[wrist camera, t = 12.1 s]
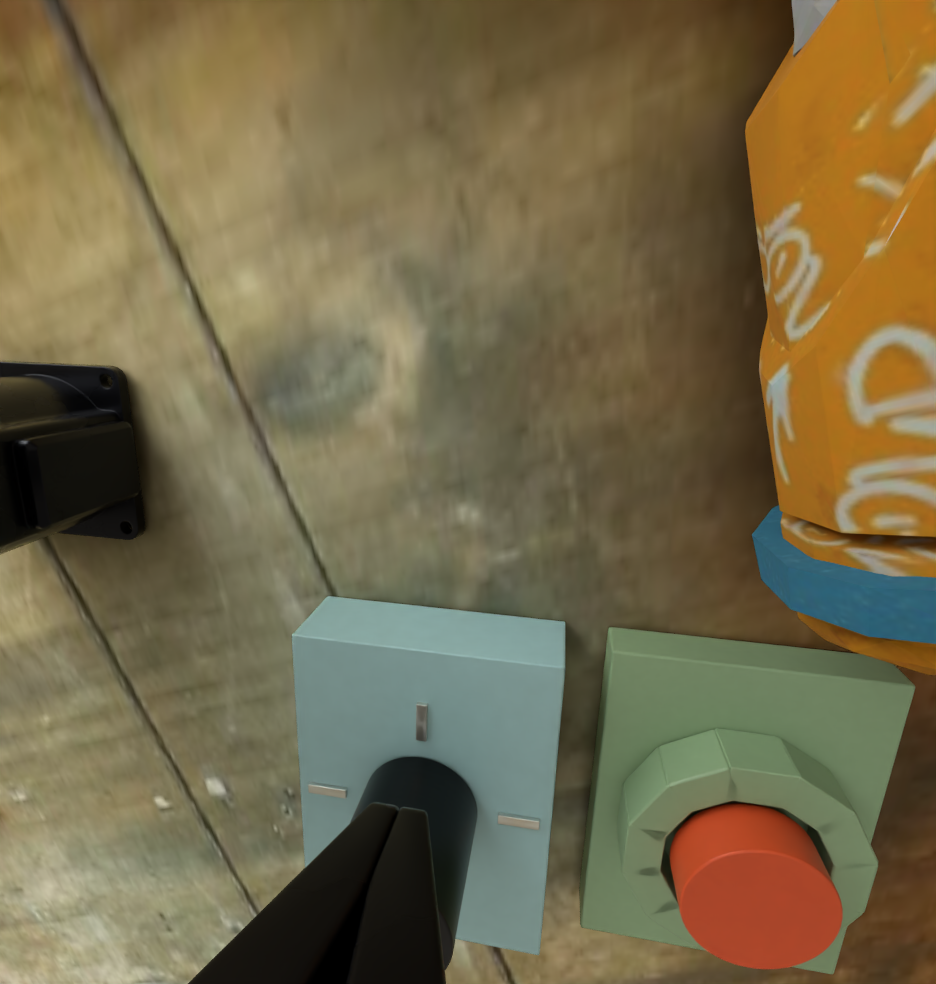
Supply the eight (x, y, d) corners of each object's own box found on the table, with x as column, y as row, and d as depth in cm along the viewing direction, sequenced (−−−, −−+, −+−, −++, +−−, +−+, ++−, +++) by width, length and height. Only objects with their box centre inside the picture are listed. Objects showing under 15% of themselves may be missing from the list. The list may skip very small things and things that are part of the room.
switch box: (579, 887, 23) (581, 979, 20) (608, 625, 20) (617, 683, 17) (814, 928, 22) (859, 1035, 19) (886, 655, 19) (957, 725, 15)
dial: (474, 860, 20) (447, 1016, 15) (365, 839, 20) (307, 984, 16) (481, 766, 19) (454, 904, 14) (365, 747, 19) (304, 874, 15)
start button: (661, 899, 19) (670, 954, 17) (678, 791, 18) (690, 839, 16) (802, 924, 18) (826, 983, 16) (830, 814, 17) (859, 866, 15)
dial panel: (336, 844, 25) (305, 914, 22) (327, 595, 21) (288, 637, 18) (542, 880, 23) (539, 960, 20) (565, 621, 20) (565, 671, 17)
